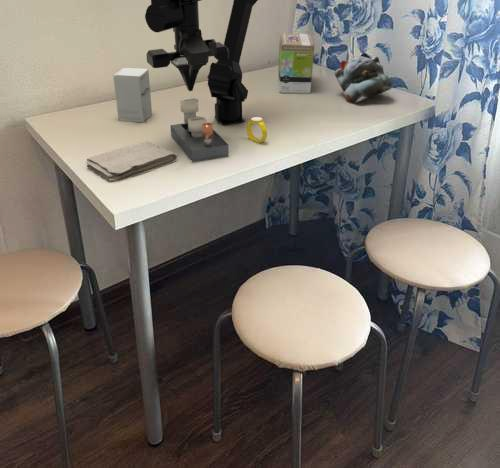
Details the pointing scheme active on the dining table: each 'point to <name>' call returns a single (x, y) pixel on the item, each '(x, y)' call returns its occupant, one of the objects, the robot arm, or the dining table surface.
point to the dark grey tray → (198, 144)
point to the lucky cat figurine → (362, 78)
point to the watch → (263, 127)
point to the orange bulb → (207, 133)
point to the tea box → (295, 63)
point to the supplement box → (133, 94)
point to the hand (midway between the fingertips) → (190, 90)
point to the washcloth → (130, 161)
